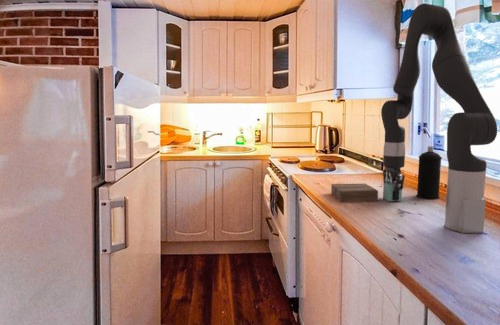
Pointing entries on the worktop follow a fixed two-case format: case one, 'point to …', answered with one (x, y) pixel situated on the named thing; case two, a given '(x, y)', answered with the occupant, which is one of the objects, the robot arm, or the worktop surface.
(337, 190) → the stacking base
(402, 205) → the worktop surface
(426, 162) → the aerosol can
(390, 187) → the teal block
